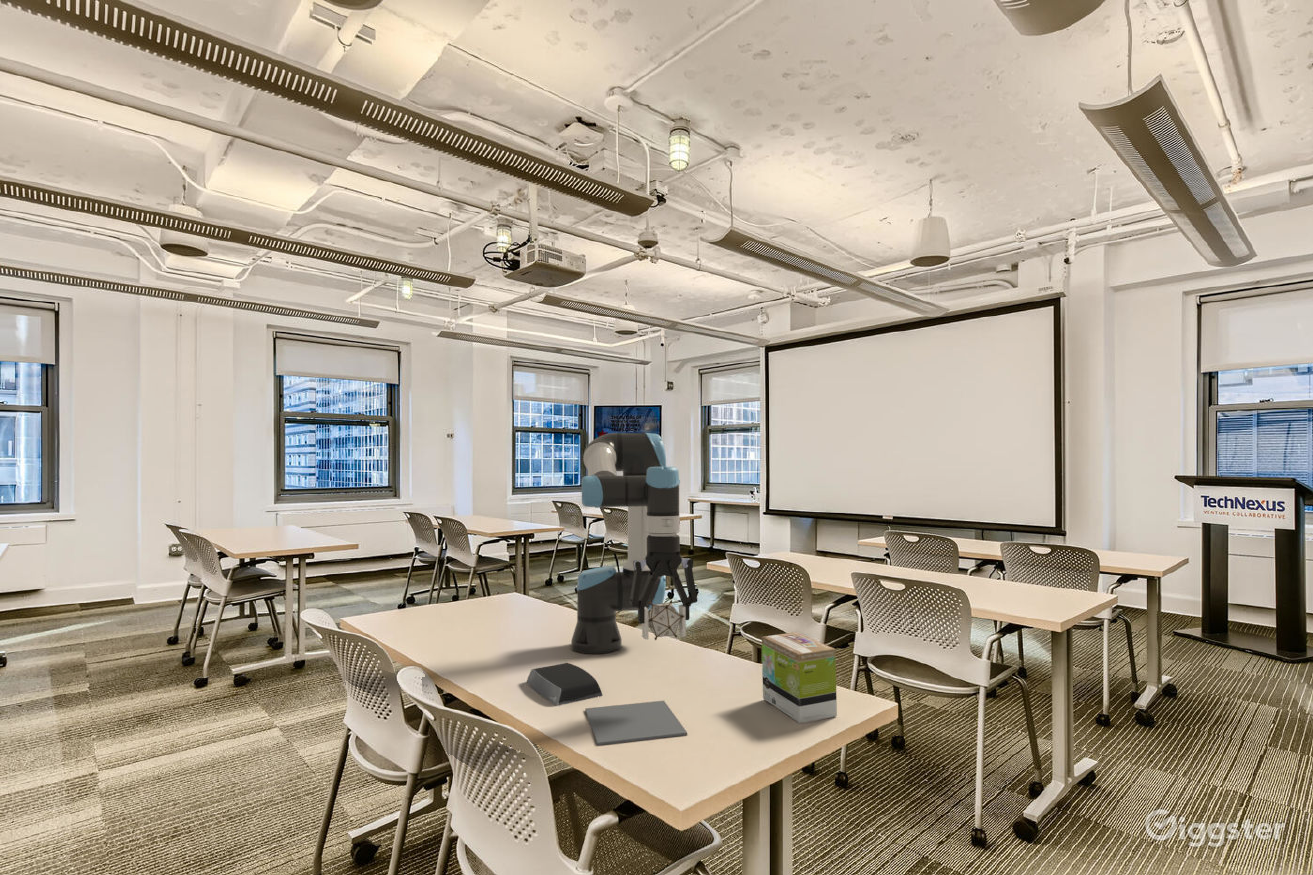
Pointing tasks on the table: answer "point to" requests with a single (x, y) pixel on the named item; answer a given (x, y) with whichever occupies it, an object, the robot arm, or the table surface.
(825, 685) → the tea box
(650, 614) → the game die
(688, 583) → the robot arm
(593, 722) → the mat
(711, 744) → the table surface
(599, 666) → the table surface
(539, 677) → the external hard drive
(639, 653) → the table surface
